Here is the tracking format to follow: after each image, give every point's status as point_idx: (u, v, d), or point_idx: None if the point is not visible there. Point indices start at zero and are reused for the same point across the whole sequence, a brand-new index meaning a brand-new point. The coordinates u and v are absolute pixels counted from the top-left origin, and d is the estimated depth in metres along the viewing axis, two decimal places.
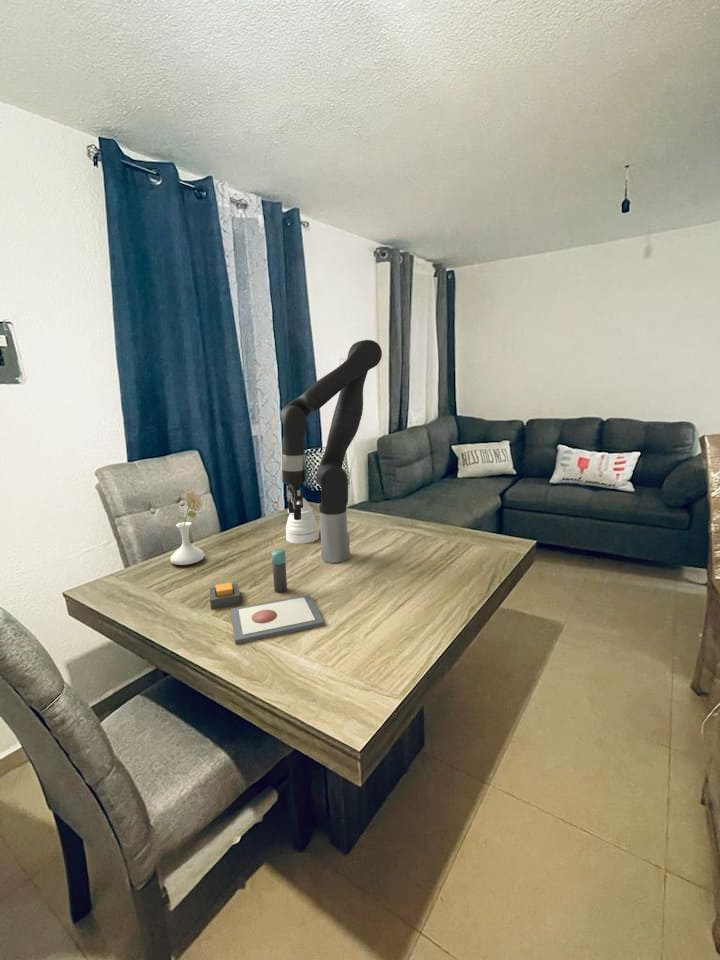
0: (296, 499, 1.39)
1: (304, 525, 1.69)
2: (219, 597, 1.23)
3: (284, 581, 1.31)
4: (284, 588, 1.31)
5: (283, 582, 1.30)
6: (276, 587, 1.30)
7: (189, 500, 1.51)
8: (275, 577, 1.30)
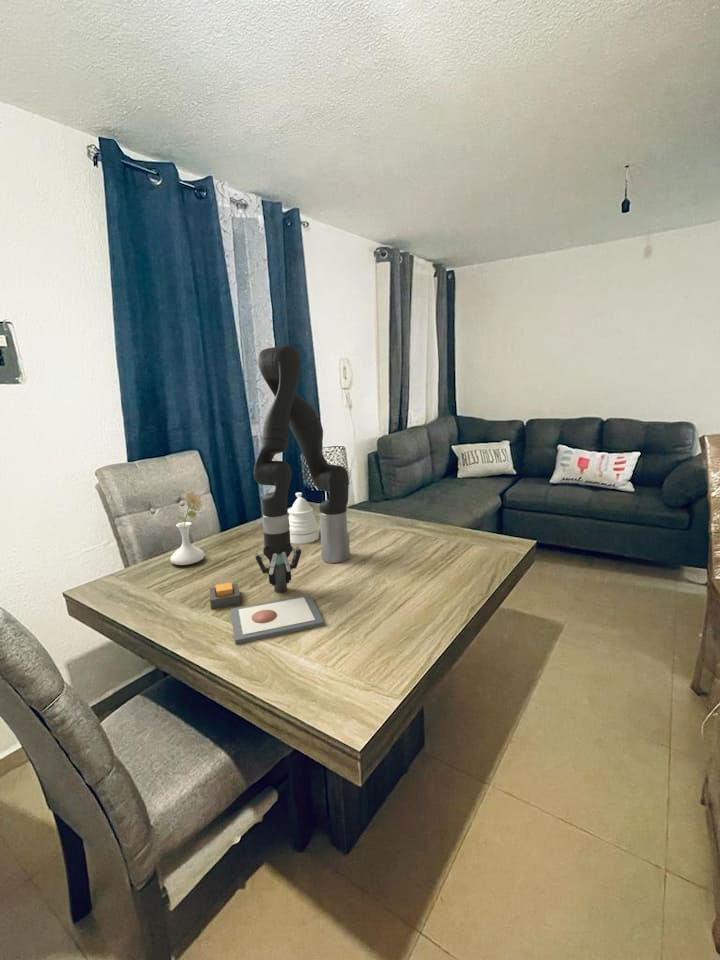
0: None
1: (304, 525, 1.69)
2: (219, 597, 1.23)
3: (284, 581, 1.31)
4: (284, 588, 1.31)
5: (283, 582, 1.30)
6: (276, 587, 1.30)
7: (189, 500, 1.51)
8: (275, 577, 1.30)
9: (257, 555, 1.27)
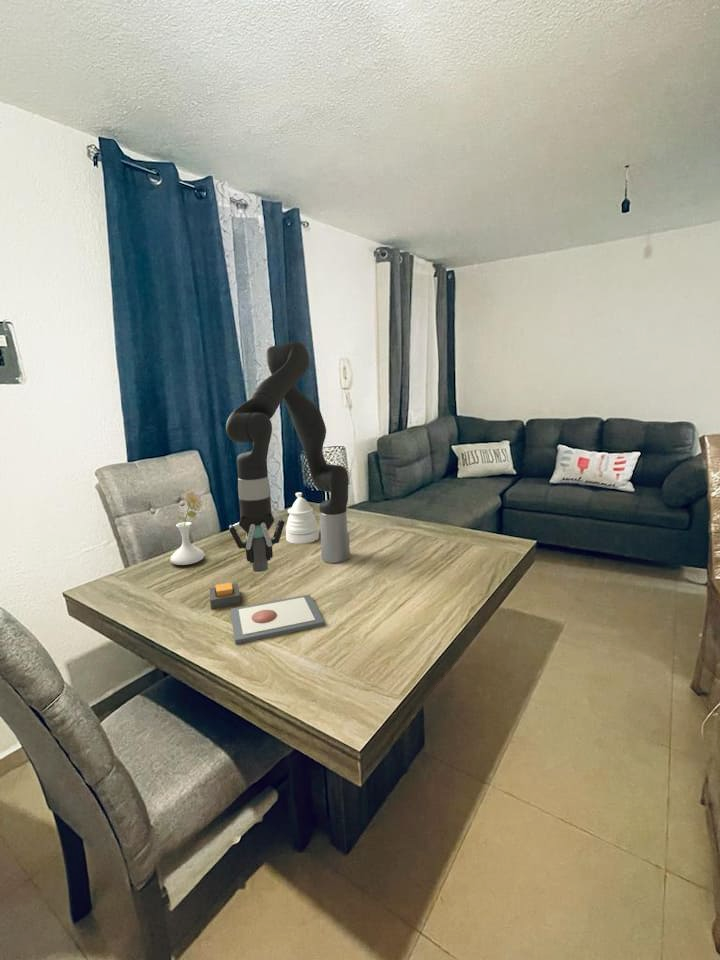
0: None
1: (304, 525, 1.69)
2: (219, 597, 1.23)
3: (264, 558, 1.10)
4: (264, 566, 1.11)
5: (263, 559, 1.10)
6: (255, 565, 1.10)
7: (189, 500, 1.51)
8: (253, 553, 1.10)
9: (231, 526, 1.07)
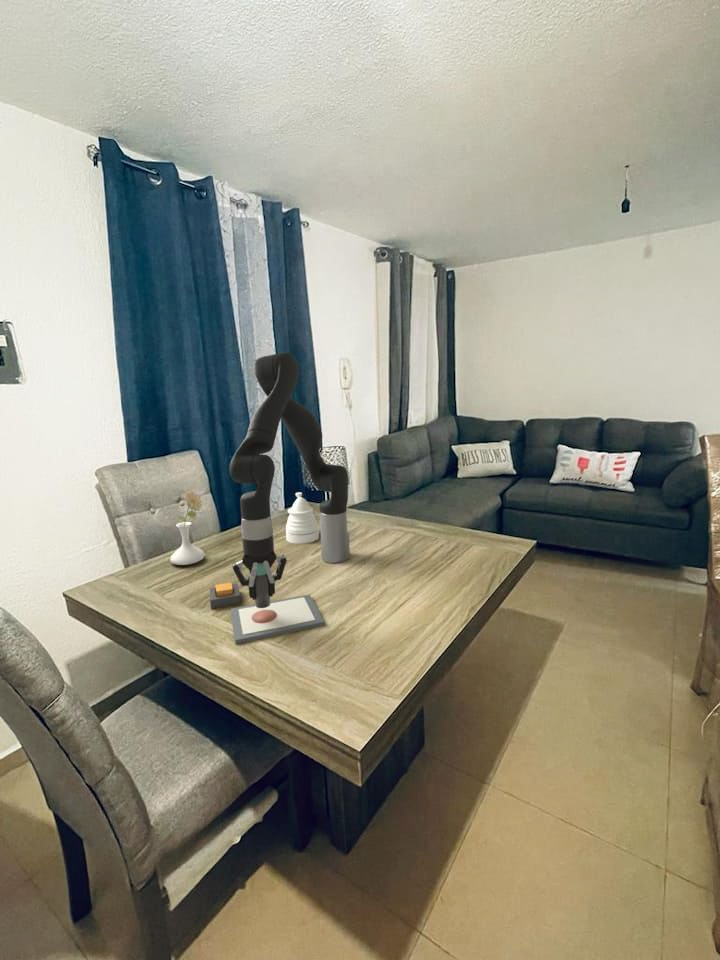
0: None
1: (304, 525, 1.69)
2: (219, 597, 1.23)
3: (267, 594, 1.13)
4: (267, 603, 1.13)
5: (266, 596, 1.12)
6: (257, 601, 1.12)
7: (189, 500, 1.51)
8: (256, 590, 1.12)
9: (235, 565, 1.09)
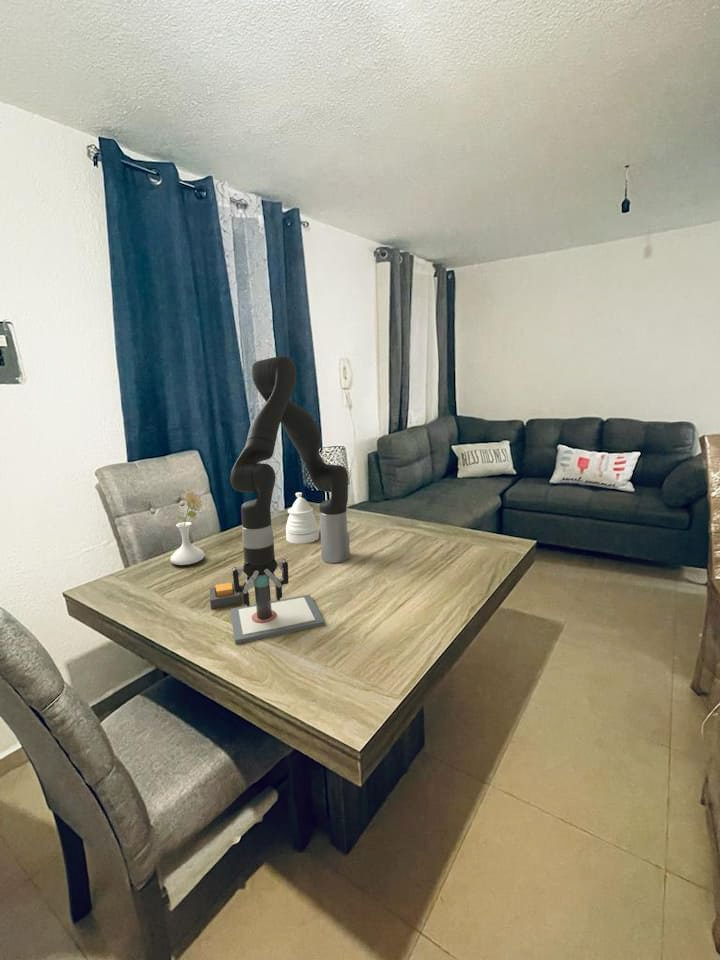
0: (287, 572, 1.14)
1: (304, 525, 1.69)
2: (219, 597, 1.23)
3: (268, 606, 1.13)
4: (268, 614, 1.14)
5: (267, 607, 1.13)
6: (259, 613, 1.13)
7: (189, 500, 1.51)
8: (257, 602, 1.13)
9: (235, 569, 1.09)
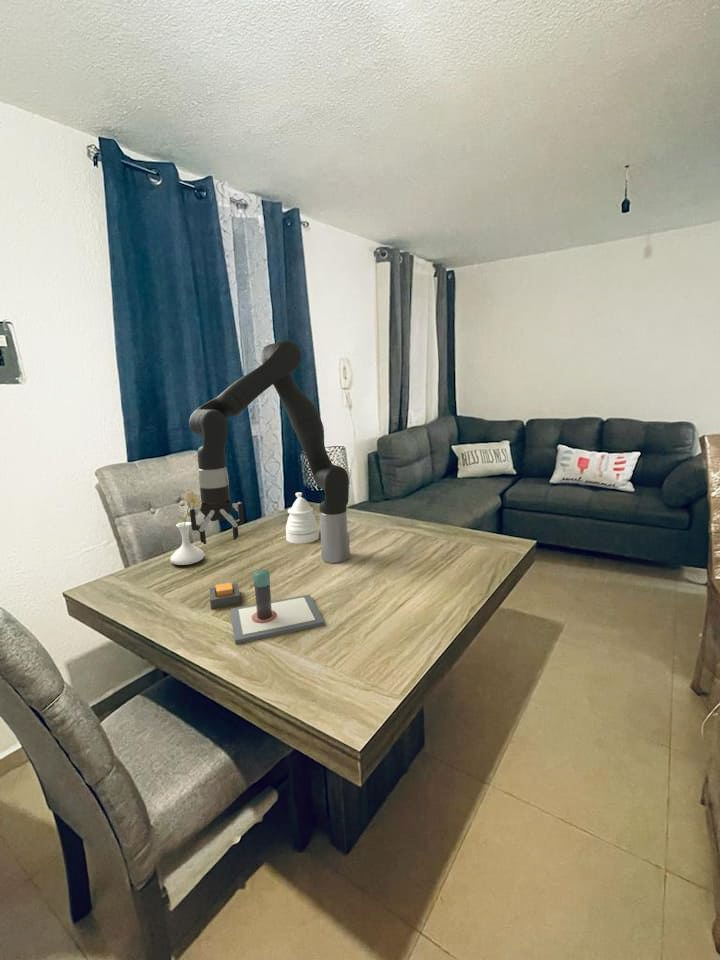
0: None
1: (304, 525, 1.69)
2: (219, 597, 1.23)
3: (268, 606, 1.13)
4: (268, 614, 1.14)
5: (267, 607, 1.13)
6: (259, 613, 1.13)
7: (189, 500, 1.51)
8: (258, 602, 1.13)
9: (192, 508, 1.18)
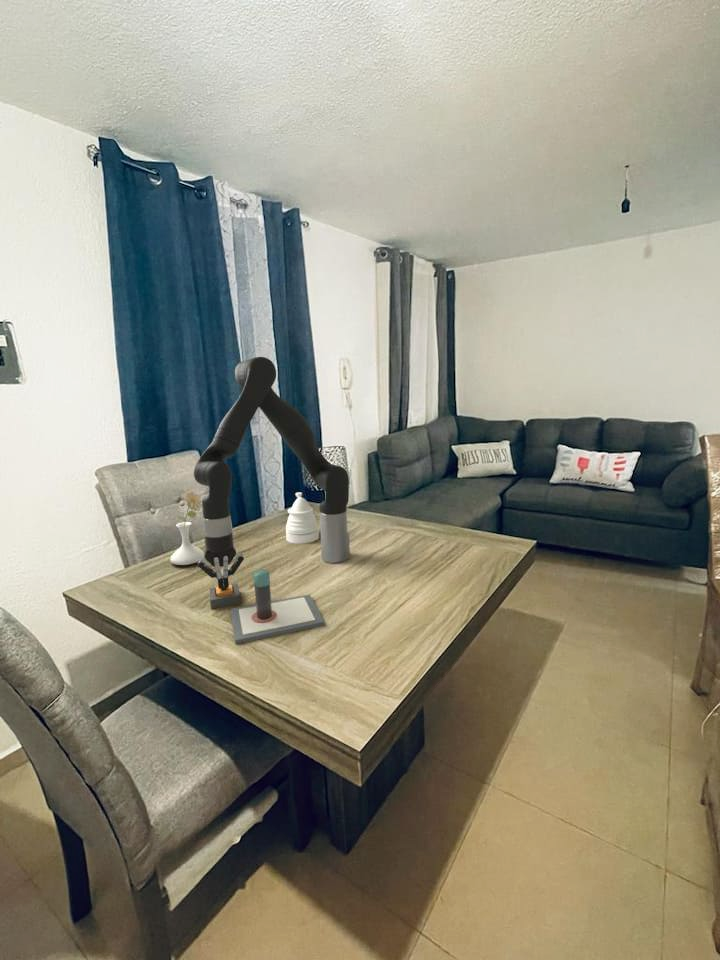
0: None
1: (304, 525, 1.69)
2: (219, 597, 1.23)
3: (268, 606, 1.13)
4: (268, 614, 1.14)
5: (267, 607, 1.13)
6: (259, 613, 1.13)
7: (189, 500, 1.51)
8: (258, 602, 1.13)
9: (199, 562, 1.22)
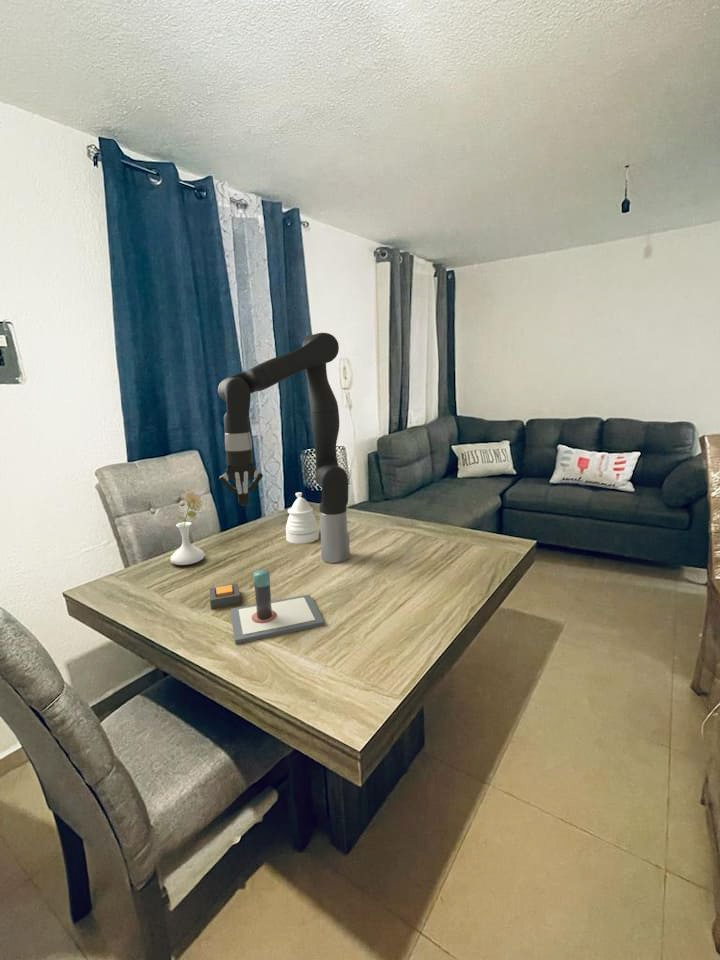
0: None
1: (304, 525, 1.69)
2: (219, 597, 1.23)
3: (268, 606, 1.13)
4: (268, 614, 1.14)
5: (267, 607, 1.13)
6: (259, 613, 1.13)
7: (189, 500, 1.51)
8: (258, 602, 1.13)
9: (221, 477, 1.28)
